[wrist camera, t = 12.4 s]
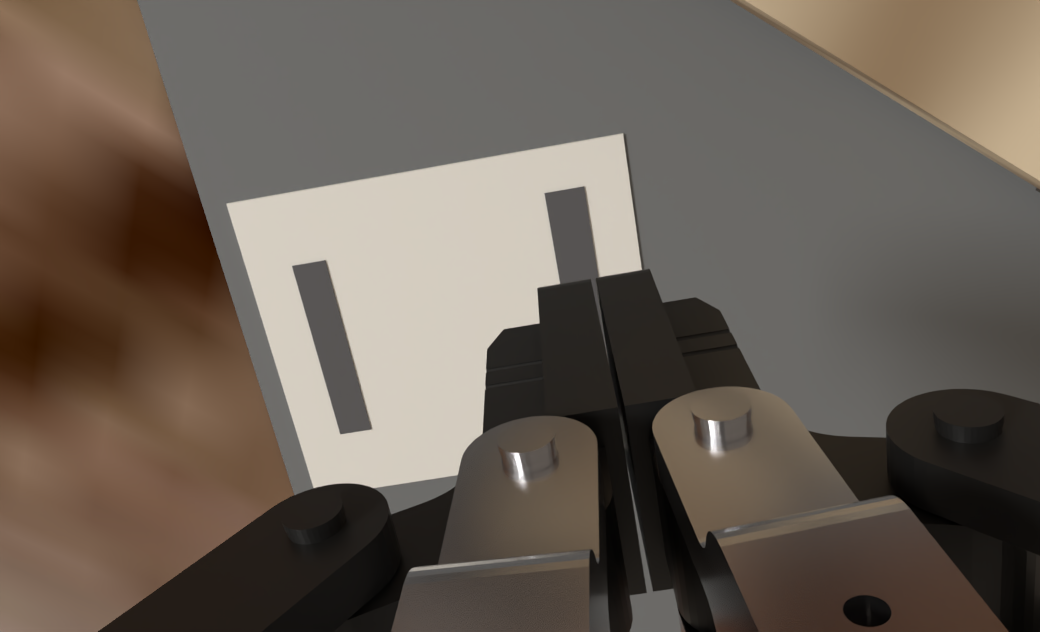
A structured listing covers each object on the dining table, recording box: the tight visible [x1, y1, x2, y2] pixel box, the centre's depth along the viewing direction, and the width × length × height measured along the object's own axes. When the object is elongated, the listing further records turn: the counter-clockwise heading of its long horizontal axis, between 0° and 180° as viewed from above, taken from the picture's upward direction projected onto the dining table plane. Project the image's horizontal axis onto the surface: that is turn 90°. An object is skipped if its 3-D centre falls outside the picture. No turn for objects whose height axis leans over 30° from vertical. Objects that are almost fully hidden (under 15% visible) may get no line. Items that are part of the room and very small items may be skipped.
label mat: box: [137, 0, 1040, 632], centre depth 18 cm, size 24×28×1 cm
